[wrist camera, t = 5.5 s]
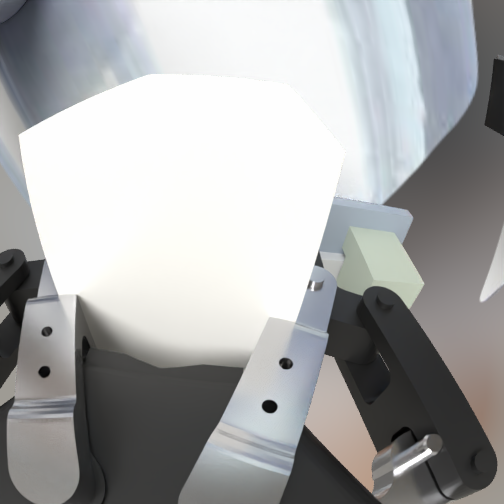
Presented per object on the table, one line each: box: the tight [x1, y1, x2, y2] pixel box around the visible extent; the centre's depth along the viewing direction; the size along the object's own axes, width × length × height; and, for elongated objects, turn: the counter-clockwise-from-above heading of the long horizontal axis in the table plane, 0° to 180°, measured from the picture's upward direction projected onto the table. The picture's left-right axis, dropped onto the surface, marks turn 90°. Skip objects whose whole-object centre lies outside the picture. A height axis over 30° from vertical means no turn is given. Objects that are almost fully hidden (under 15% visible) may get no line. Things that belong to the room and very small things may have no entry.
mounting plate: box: [319, 197, 424, 354], centre depth 29 cm, size 28×14×9 cm, turn 82°
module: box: [19, 74, 345, 373], centre depth 10 cm, size 5×10×8 cm, turn 173°
